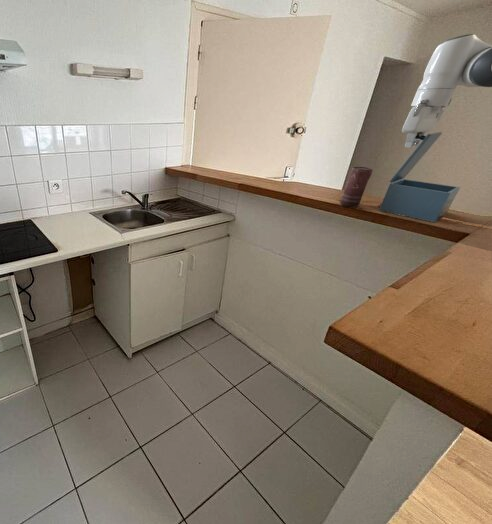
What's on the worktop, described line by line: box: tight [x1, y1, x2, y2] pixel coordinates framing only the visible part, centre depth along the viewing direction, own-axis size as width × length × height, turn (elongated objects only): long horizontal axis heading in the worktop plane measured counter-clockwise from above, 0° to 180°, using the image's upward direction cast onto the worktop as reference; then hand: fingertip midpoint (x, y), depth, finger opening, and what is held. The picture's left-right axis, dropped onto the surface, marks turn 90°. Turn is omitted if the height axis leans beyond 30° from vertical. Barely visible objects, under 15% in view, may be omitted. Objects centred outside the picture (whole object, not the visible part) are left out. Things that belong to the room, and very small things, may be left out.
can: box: [339, 166, 373, 208], centre depth 106 cm, size 6×6×14 cm
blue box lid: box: [389, 131, 443, 184], centre depth 98 cm, size 16×13×5 cm
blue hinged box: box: [378, 178, 461, 223], centre depth 99 cm, size 16×13×10 cm
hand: (411, 146), depth 96 cm, fingers open, 5 cm apart
